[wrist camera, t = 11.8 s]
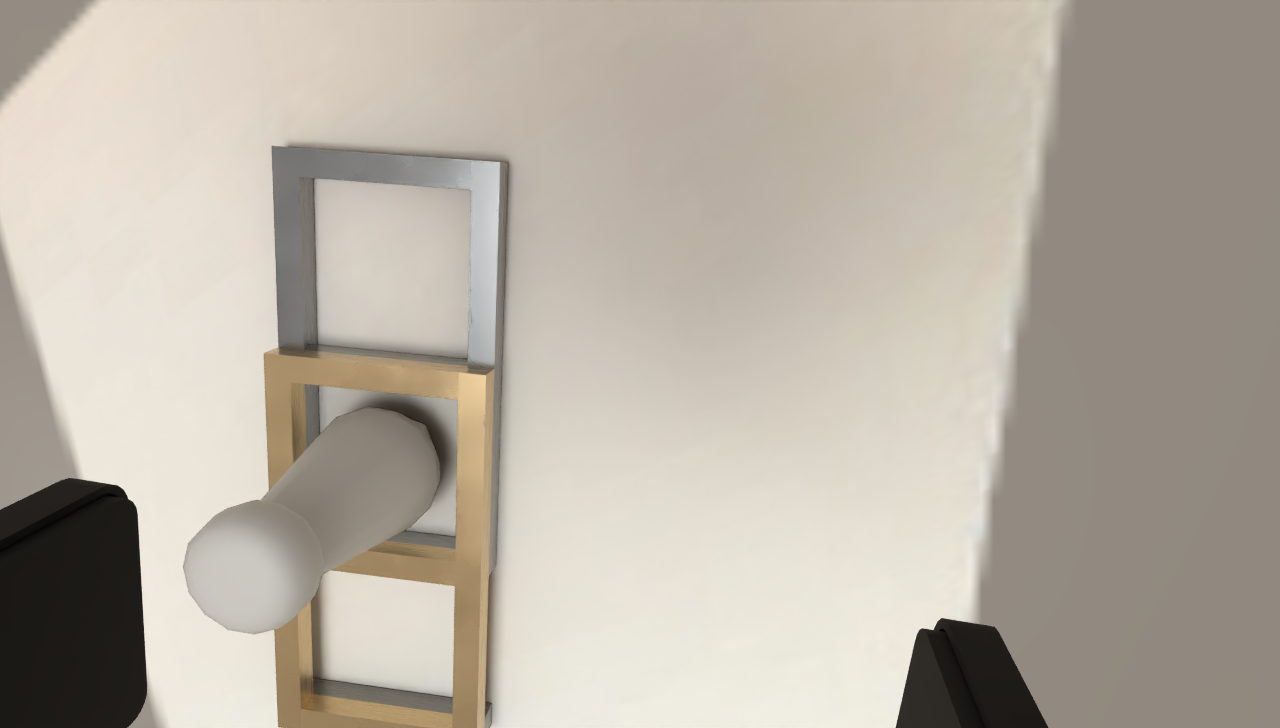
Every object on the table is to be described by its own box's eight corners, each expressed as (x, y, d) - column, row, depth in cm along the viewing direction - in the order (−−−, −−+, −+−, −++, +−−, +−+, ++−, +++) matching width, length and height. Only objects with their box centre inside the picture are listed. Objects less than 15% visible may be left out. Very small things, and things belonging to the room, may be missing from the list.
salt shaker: (463, 509, 39) (331, 667, 27) (350, 514, 40) (170, 669, 28) (445, 389, 38) (297, 497, 26) (329, 397, 39) (130, 505, 26)
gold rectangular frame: (292, 342, 39) (263, 353, 36) (502, 362, 38) (486, 375, 35) (303, 697, 43) (278, 727, 41) (491, 724, 42) (476, 756, 40)
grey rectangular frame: (286, 146, 37) (271, 146, 35) (508, 162, 36) (500, 162, 34) (298, 540, 41) (285, 551, 40) (496, 565, 40) (488, 576, 39)
